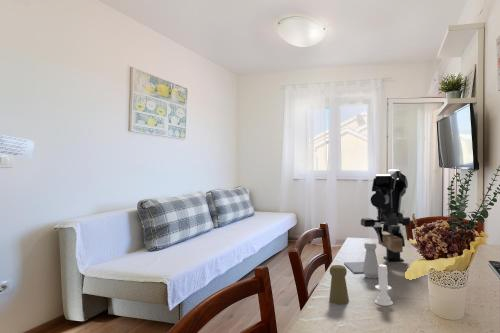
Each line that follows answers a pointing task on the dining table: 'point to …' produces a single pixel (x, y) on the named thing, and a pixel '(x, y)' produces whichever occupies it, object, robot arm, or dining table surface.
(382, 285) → the candle
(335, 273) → the pepper shaker
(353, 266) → the rest mat
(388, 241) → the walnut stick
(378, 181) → the robot arm
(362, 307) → the dining table surface
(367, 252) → the salt shaker
